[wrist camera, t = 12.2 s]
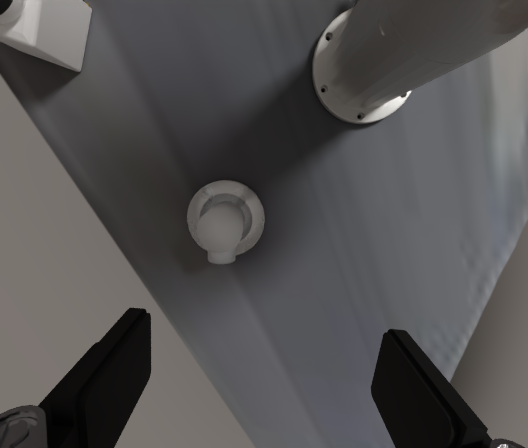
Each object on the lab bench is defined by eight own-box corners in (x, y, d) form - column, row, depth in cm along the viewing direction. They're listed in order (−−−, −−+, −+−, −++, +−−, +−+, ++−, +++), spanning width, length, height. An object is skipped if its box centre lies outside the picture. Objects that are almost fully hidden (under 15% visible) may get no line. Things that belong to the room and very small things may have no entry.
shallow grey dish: (189, 177, 34) (186, 178, 33) (266, 181, 34) (266, 182, 33) (190, 251, 36) (187, 255, 35) (262, 254, 37) (262, 258, 35)
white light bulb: (207, 200, 33) (196, 207, 27) (245, 201, 33) (243, 209, 27) (207, 247, 35) (197, 264, 29) (243, 249, 35) (241, 266, 29)
